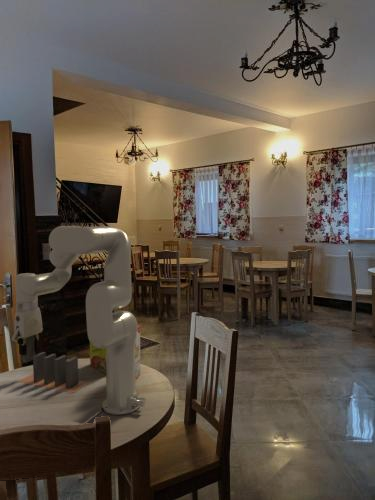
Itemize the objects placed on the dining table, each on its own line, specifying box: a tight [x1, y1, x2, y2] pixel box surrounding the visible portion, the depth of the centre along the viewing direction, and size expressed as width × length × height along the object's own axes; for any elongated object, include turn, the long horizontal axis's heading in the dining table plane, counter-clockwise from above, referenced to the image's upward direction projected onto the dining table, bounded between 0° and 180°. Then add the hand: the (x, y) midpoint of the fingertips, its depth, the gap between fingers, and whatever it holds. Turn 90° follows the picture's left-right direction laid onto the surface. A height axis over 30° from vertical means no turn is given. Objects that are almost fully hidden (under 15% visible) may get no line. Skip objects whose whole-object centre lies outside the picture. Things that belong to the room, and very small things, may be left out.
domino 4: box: [54, 354, 68, 387], centre depth 142 cm, size 2×5×10 cm, turn 158°
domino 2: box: [32, 351, 47, 383], centre depth 146 cm, size 2×5×10 cm, turn 158°
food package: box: [89, 342, 107, 374], centre depth 156 cm, size 15×1×20 cm, turn 42°
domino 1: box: [21, 335, 36, 364], centre depth 147 cm, size 2×5×10 cm, turn 158°
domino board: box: [17, 373, 89, 394], centre depth 144 cm, size 26×9×1 cm, turn 68°
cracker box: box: [135, 325, 141, 382], centre depth 144 cm, size 14×6×21 cm, turn 168°
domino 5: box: [65, 356, 79, 389], centre depth 140 cm, size 2×5×10 cm, turn 158°
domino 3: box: [43, 353, 57, 385], centre depth 144 cm, size 2×5×10 cm, turn 158°
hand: (28, 351), depth 147 cm, fingers closed on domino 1, 4 cm apart
